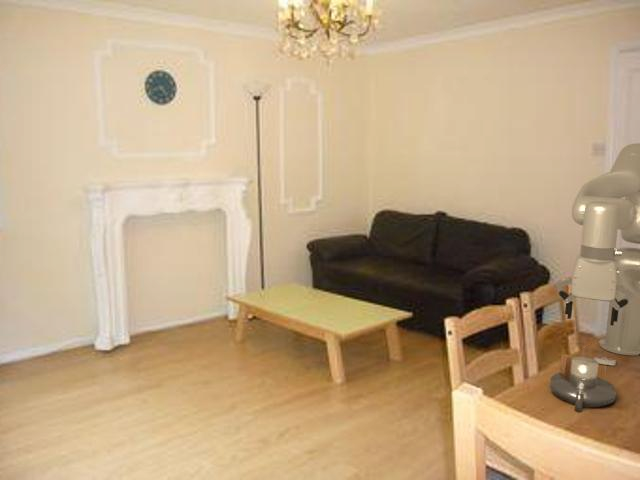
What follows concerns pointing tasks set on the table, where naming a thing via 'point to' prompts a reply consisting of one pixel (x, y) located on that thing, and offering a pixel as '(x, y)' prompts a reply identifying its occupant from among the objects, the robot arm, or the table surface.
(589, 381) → the cover
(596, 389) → the turntable
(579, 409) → the dial pointer
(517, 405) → the table surface
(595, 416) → the table surface
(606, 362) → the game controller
